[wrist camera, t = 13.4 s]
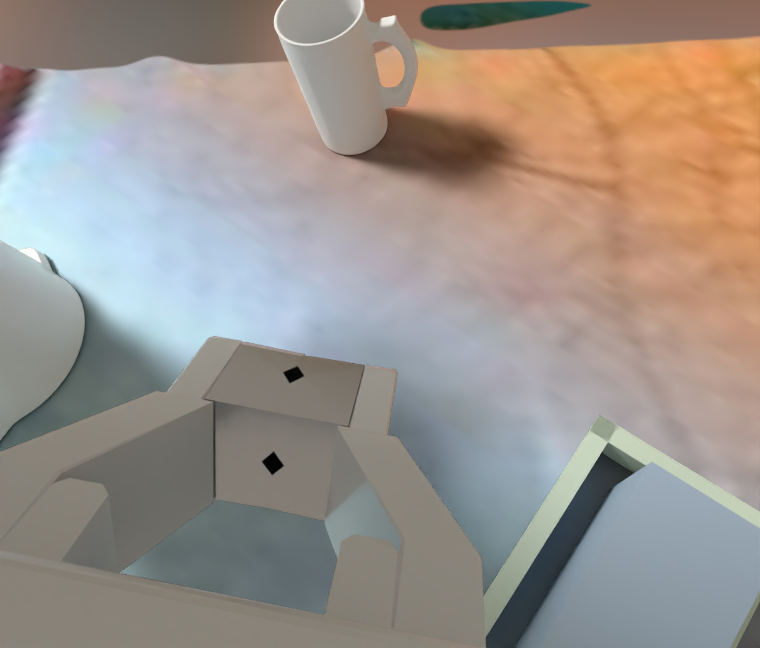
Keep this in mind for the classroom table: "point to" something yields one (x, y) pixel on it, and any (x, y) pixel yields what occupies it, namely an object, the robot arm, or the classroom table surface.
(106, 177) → the classroom table surface
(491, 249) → the classroom table surface
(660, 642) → the slate block
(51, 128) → the classroom table surface
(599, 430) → the sage pocket
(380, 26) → the mug
